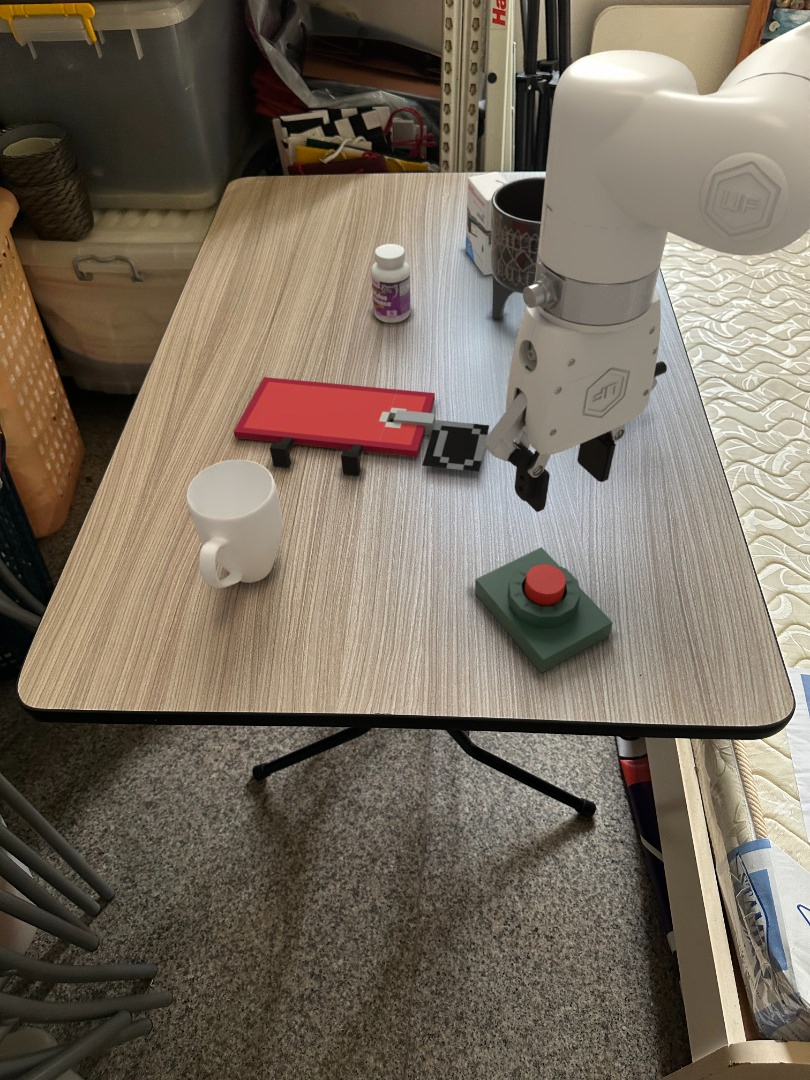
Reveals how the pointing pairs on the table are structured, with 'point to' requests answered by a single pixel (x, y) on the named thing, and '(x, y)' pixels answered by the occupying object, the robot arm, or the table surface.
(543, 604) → the button
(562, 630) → the button box
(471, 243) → the ink box
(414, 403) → the red board with handle
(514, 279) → the planter
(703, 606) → the table surface
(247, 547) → the mug
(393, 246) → the pill bottle
